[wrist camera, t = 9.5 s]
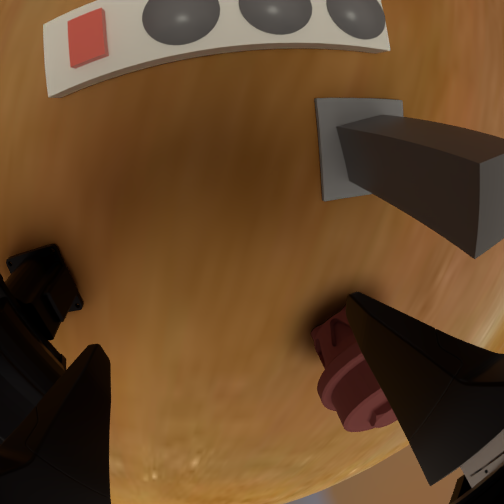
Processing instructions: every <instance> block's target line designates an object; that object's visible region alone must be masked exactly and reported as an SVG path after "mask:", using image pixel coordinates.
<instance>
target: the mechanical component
mask: <svg viewBox="0 0 504 504" xmlns="http://www.w3.org/2000/svg"><path fill="white" fill-rule="evenodd" d="M311 336H312V338H313V340H314V346H315V349H316V352H317V354H318V355H319V358H320V360H321V362H322V364H323V366H324V368H325V370H324V372H323V373H322V375H321V377H320V379H319V382H318V386H317V390H318V394H319V396H320V399H321V401H322V403H323V405H324V406H325V407H326V408H327V409H330V410H333V411H337V414H338V416H339V418H340V420H341V423H342V425H343V427H344V429H345V430H347V431H349V432H360V431H365V430H369V429H372V428H375V427H376V428H380V427H384V426H387V425H389V424H391V423H393V422H395V421H396V420H398V419H397V418H396V416H395V414H394V412H393V410H392V408H391V406H390V404H389V402H388V400H387V398H386V397H385V395H384V393H383V391H382V389H381V387H380V385H379V384H378V382H377V380H376V378H375V376H374V374H373V373H372V371H371V369H370V367H369V365H368V363H367V362H366V360H365V358H364V356H363V354H362V352H361V350H360V348H359V346H358V343H357V341H356V339H355V336H354V334H353V332H352V329H351V327H350V324H349V322H348V320H347V317H346V305H345V307H344V308H343V309H342V310H341V311H340V312H339V313H337V314H335V315H334V316H333V317H331V318H330V319H329V320H327V321H326V322H325V323H324V324H322V325H320V326H318V327H316V328H314V329H313V330H312V332H311Z"/></svg>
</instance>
